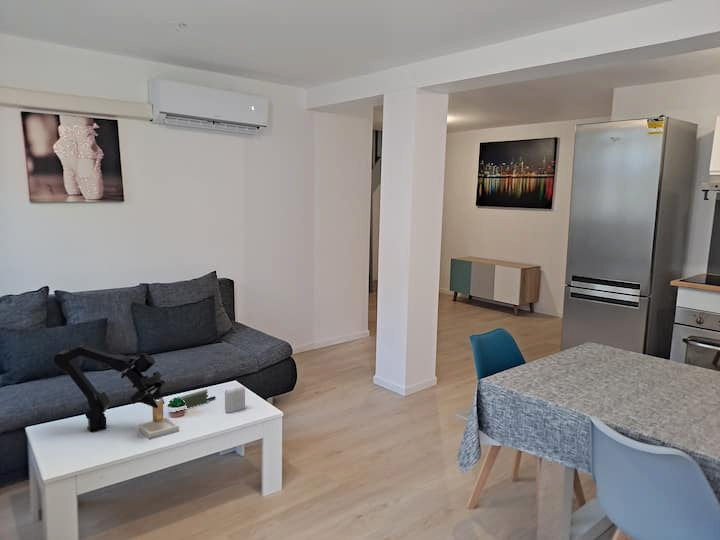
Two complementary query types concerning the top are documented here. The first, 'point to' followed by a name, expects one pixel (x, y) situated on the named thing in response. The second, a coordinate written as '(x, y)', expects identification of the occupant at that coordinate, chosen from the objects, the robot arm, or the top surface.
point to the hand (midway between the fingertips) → (160, 405)
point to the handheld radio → (196, 398)
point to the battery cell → (158, 410)
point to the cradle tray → (158, 428)
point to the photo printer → (234, 398)
